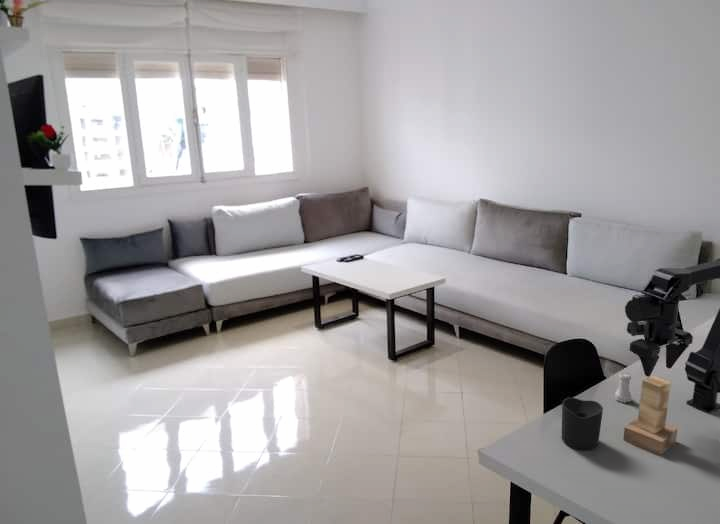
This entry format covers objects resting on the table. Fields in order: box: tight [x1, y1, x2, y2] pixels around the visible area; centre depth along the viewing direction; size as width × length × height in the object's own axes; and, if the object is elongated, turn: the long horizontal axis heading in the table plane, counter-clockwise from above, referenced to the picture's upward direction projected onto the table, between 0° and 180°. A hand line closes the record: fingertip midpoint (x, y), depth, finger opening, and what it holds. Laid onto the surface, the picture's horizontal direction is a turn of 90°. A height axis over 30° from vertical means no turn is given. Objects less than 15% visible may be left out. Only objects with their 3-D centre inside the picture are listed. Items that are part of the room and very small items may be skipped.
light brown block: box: [622, 416, 678, 456], centre depth 137 cm, size 9×9×4 cm
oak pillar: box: [637, 375, 672, 434], centre depth 136 cm, size 4×4×12 cm
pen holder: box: [561, 396, 604, 451], centre depth 137 cm, size 9×9×10 cm
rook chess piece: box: [614, 372, 632, 404], centre depth 157 cm, size 4×4×8 cm
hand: (658, 372), depth 146 cm, fingers open, 9 cm apart
